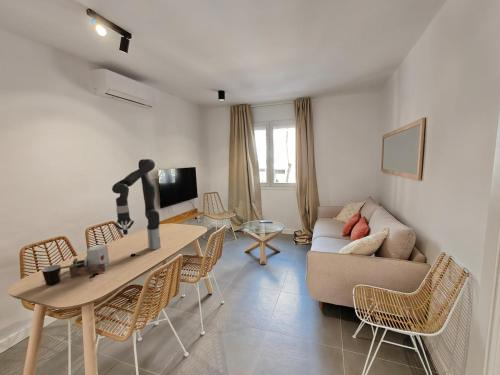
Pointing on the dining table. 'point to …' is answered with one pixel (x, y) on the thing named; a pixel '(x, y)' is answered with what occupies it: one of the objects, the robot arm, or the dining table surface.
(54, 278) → the coffee mug
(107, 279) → the dining table surface
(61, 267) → the pusher plate
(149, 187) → the robot arm
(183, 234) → the dining table surface
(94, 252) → the supplement box
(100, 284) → the dining table surface
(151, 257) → the dining table surface
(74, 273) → the brown wooden box
